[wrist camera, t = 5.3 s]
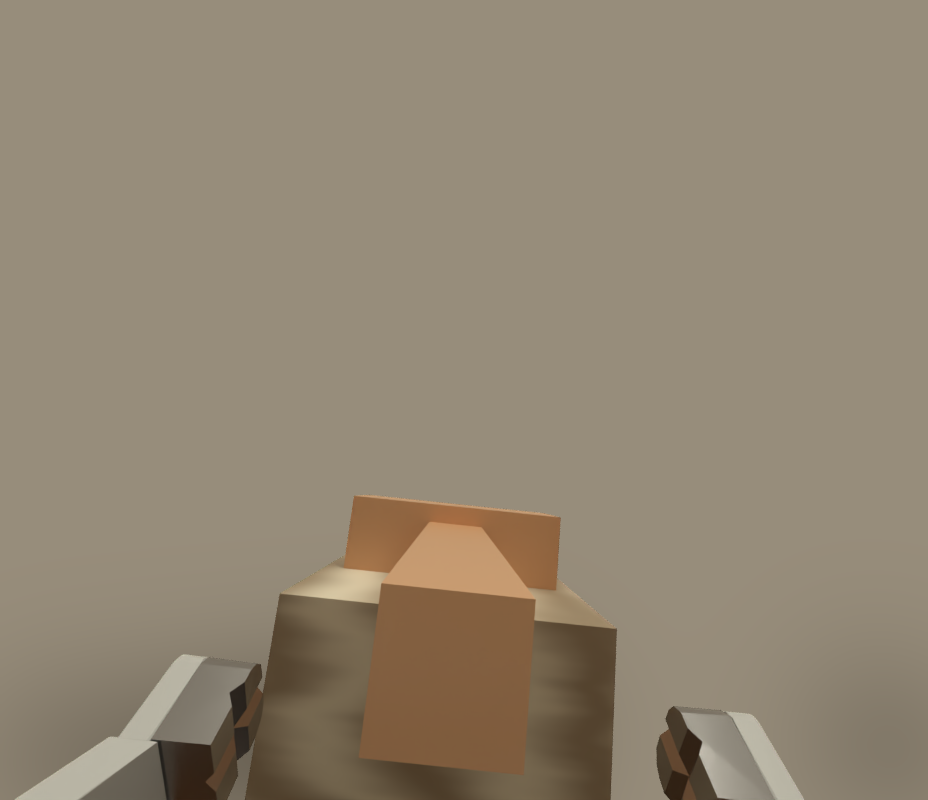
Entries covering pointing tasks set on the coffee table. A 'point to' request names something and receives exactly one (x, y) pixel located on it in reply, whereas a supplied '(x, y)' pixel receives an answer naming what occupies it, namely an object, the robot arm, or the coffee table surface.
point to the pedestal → (345, 690)
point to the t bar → (451, 628)
